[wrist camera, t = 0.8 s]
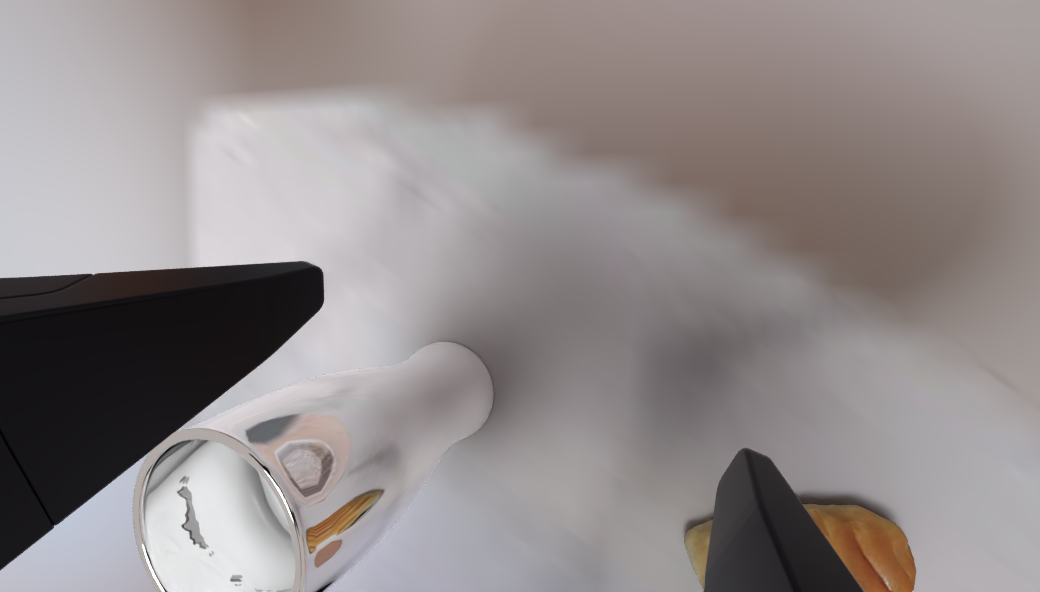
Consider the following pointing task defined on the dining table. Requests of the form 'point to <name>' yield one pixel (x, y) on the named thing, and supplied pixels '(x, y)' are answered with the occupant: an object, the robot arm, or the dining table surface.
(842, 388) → the dining table surface
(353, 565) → the beer glass
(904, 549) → the pastry
